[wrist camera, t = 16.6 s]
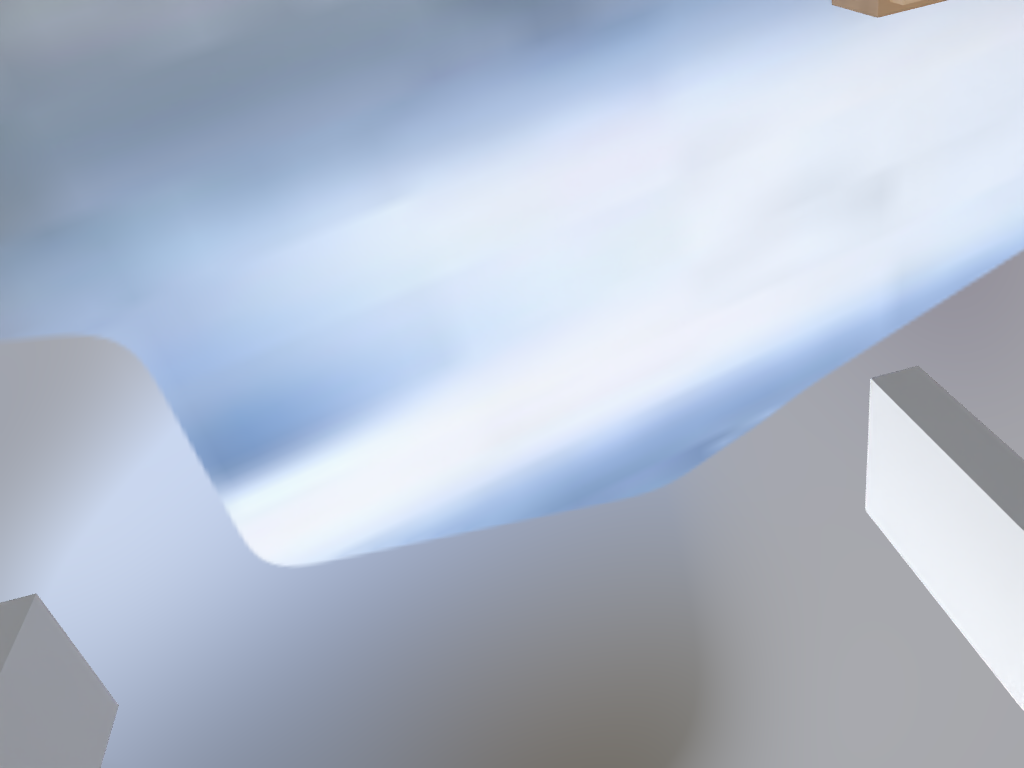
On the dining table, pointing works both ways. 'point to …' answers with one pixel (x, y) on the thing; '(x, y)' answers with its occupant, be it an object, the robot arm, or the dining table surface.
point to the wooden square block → (882, 6)
